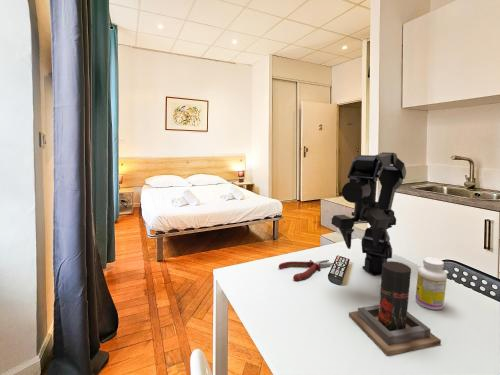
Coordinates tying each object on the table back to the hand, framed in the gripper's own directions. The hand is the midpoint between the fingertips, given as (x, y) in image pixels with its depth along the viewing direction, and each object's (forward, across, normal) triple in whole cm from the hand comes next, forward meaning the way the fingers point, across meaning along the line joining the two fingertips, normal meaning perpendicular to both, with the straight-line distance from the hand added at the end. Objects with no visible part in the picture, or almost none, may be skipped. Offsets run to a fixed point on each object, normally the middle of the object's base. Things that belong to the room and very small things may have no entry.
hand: (362, 247), depth 84 cm
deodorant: (+12, -5, -19) cm, 23 cm away
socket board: (+13, -5, -20) cm, 24 cm away
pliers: (+14, -11, +13) cm, 22 cm away
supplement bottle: (+13, +13, -13) cm, 23 cm away
